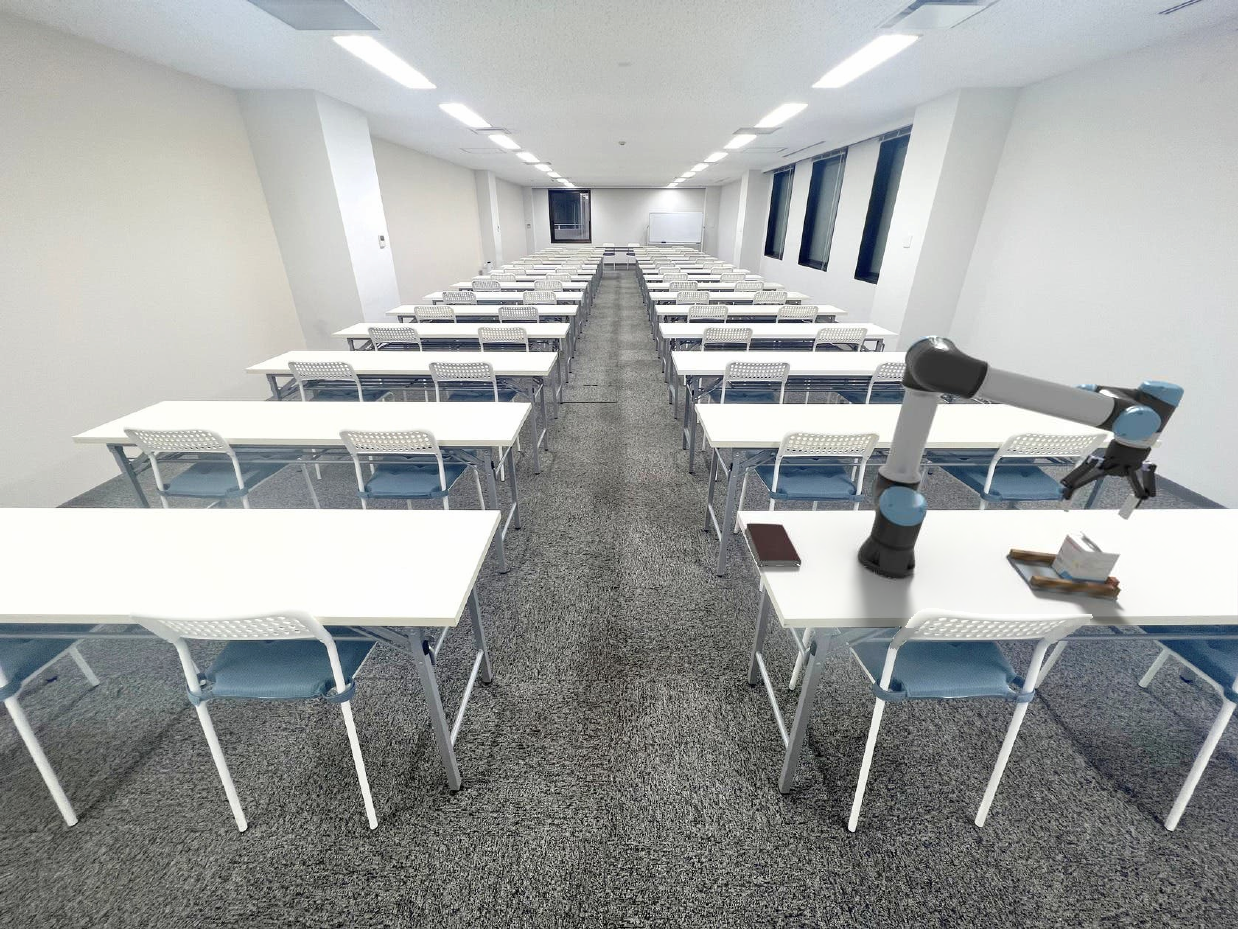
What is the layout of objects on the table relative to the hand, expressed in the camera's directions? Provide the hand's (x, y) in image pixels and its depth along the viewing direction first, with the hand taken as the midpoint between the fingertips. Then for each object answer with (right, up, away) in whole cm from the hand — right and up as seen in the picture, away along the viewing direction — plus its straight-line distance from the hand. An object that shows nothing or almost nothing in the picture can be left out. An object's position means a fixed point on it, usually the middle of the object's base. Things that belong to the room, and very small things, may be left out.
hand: (1092, 513), depth 130 cm
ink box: (+1, -19, +6) cm, 20 cm away
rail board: (-3, -19, +8) cm, 21 cm away
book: (-82, -14, +21) cm, 85 cm away
